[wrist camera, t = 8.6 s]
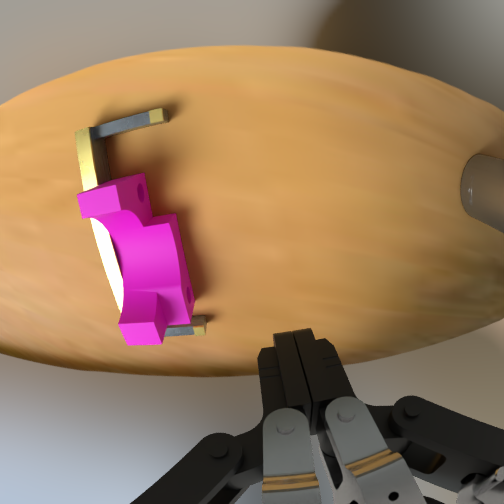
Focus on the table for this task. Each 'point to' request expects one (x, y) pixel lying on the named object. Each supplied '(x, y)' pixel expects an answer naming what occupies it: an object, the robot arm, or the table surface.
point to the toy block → (143, 258)
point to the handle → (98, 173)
